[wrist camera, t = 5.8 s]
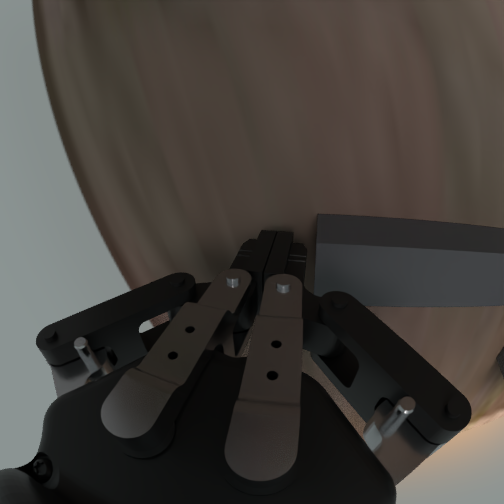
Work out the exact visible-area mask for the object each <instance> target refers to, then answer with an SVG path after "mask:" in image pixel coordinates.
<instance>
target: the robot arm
mask: <svg viewBox="0 0 504 504" xmlns="http://www.w3.org/2000/svg"><path fill="white" fill-rule="evenodd" d="M306 256H307V249H306V247H305V246H304V244H300V243H293V233H292V232H281V231H278V232H277V231H268V230H261V232H260V235H259V237H258V239H257V240H256V239H249V240H248V241H246V242H245V243H243V245H242V246H241V248H240V251H239V252H238V254H237V256H236V258H235V260H234V261H233V263H232V265H231V267H230V269H227V270H224V271H222V272H220V273H219V274H218V275H217V276H216V277H215V279H214V280H213V282H210V283H198V284H196V283H195V278H194V277H193V276H192V275H191V274H188V273H182V272H181V273H174V274H171V275H168V276H166V277H163V278H161V279H158V280H156V281H154V282H151V283H149V284H146V285H144V286H141V287H139V288H136V289H134V290H132V291H129V292H127V293H124V294H122V295H120V296H117V297H115V298H112V299H110V300H108V301H105V302H103V303H100V304H98V305H96V306H93V307H91V308H88V309H86V310H84V311H81V312H79V313H76V314H74V315H72V316H70V317H67V318H65V319H62V320H60V321H57V322H55V323H53V324H50V325H48V326H46V327H45V328H43V329H42V330H41V331H40V332H39V334H38V336H37V338H36V345H37V347H38V348H39V350H40V351H41V352H42V354H43V356H44V357H45V358H46V361H47V363H48V364H49V366H51V370H52V375H53V379H54V384H55V388H56V393H57V396H58V398H57V399H56V400H55V401H54V402H53V403H52V404H51V405H50V407H49V408H48V410H47V412H46V414H45V418H44V423H43V432H42V438H41V442H40V446H39V449H38V452H37V454H36V456H35V457H34V459H33V460H32V461H31V462H29V463H28V464H26V465H24V466H21V467H18V468H13V469H12V468H9V469H4V470H0V504H396V487H395V486H396V485H397V484H398V483H399V482H401V481H402V480H403V479H404V478H405V477H406V476H407V475H409V474H410V473H411V472H412V471H413V470H414V469H415V468H416V467H418V466H419V465H420V464H421V463H422V462H423V461H424V460H425V459H426V458H428V457H429V456H430V455H432V454H433V453H434V452H435V451H437V450H438V449H440V448H441V447H442V446H443V445H444V444H446V443H447V442H448V441H449V440H451V439H452V438H453V437H454V436H455V435H457V434H458V433H459V432H460V431H461V430H462V429H463V428H465V427H466V426H467V424H468V423H469V421H470V419H471V406H470V403H469V401H468V400H467V398H466V397H465V396H464V395H463V394H462V393H461V392H460V391H458V390H457V389H456V388H455V387H454V386H453V385H452V384H451V383H450V382H449V381H448V380H447V379H446V378H445V377H443V376H442V375H441V374H440V373H439V372H438V371H437V370H436V369H435V368H434V367H433V366H432V365H430V364H429V363H428V362H427V361H426V360H425V359H424V358H423V357H422V356H421V355H419V354H418V353H417V352H416V351H415V350H414V349H413V348H412V347H411V346H409V345H408V344H407V343H406V342H405V341H404V340H403V339H402V338H400V337H399V336H398V335H397V334H396V333H395V332H394V331H393V330H391V329H390V328H389V327H388V326H387V325H386V324H385V323H383V322H382V321H381V320H380V319H379V318H378V317H376V316H375V315H374V314H373V313H372V312H371V311H370V310H368V309H367V308H366V307H365V306H364V305H363V304H361V303H360V302H359V301H358V300H357V299H356V298H354V297H353V296H352V295H350V294H348V293H346V292H342V291H330V292H327V293H325V294H324V295H323V296H322V297H319V296H316V295H314V294H312V293H310V292H309V291H308V290H306V288H305V287H304V277H305V267H306ZM165 312H168V316H169V319H170V320H169V321H167V322H165V323H163V324H160V325H158V326H156V327H154V328H152V329H150V330H147V331H145V332H143V333H139V327H140V325H141V324H142V323H143V322H145V321H147V320H149V319H151V318H154V317H156V316H158V315H160V314H163V313H165ZM255 317H256V318H255ZM254 320H255V323H254ZM253 323H254V327H253ZM252 331H253V332H252ZM251 334H252V337H251V342H250V346H249V351H248V356H247V357H241V356H242V354H243V352H244V350H245V347H246V345H247V343H248V341H249V338H250V336H251ZM302 349H305V350H307V351H310V352H311V357H312V359H313V360H314V362H315V363H316V364H317V365H318V366H319V368H320V369H321V370H322V371H323V372H324V374H325V375H326V376H327V377H328V378H329V380H330V381H331V382H332V383H333V384H334V386H335V387H336V388H337V389H338V390H339V392H340V393H341V394H342V395H343V396H344V397H345V399H346V400H347V401H348V402H349V403H350V404H351V406H352V407H353V408H354V409H355V410H356V412H357V413H358V414H359V415H360V416H361V417H362V418H363V420H364V421H365V422H366V425H365V427H364V431H363V435H364V439H365V441H366V443H367V444H366V443H365V441H364V440H363V439H362V438H361V436H360V435H359V434H358V432H357V431H356V430H355V428H354V427H353V426H352V425H351V423H350V422H349V421H348V419H347V418H346V417H345V415H344V414H343V413H342V411H341V410H340V409H339V407H338V406H337V405H336V403H335V402H334V401H333V399H332V398H331V397H330V395H329V394H328V393H327V391H326V390H325V389H324V388H323V387H322V386H321V385H320V384H319V383H318V382H317V381H316V380H315V379H313V378H312V377H311V376H309V375H307V374H305V373H303V372H302ZM368 446H369V447H368Z"/></svg>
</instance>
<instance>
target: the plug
mask: <svg viewBox="0 0 504 504" xmlns="http://www.w3.org/2000/svg"><path fill="white" fill-rule="evenodd" d="M330 291H342V292H346V293H348V294H350V295H352V296H353V297H354V298H356V299H357V300H358V301H359V302H360V303H361V304H363V305H364V306H390V307H473V306H502V305H504V229H503V228H495V227H486V226H477V225H468V224H458V223H448V222H437V221H426V220H413V219H400V218H385V217H369V216H351V215H330V214H318V221H317V241H316V264H315V282H314V295H316V296H319V297H322V296H323V295H324V294H325V293H327V292H330Z"/></svg>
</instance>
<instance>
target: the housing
mask: <svg viewBox="0 0 504 504" xmlns="http://www.w3.org/2000/svg"><path fill="white" fill-rule="evenodd" d="M497 361H498V364H499V366H500V369H501V372H502V375H503V378H504V348H503V349H502V351H501V352H500V354H499V355H498V357H497Z"/></svg>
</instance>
